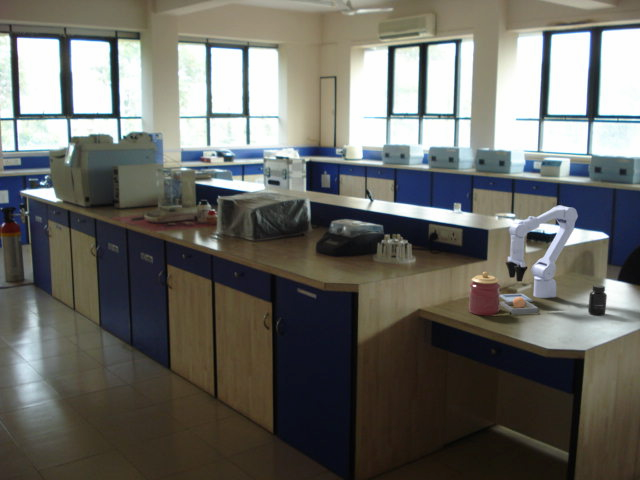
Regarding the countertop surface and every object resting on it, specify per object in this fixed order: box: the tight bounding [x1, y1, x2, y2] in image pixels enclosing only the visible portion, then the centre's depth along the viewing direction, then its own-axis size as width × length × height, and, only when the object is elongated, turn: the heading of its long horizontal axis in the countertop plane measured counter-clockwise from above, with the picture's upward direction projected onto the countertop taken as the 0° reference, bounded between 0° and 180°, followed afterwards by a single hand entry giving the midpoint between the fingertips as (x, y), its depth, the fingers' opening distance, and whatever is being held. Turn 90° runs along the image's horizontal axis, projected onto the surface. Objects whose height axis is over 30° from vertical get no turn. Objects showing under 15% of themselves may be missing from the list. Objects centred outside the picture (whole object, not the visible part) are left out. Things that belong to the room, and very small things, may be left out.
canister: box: [468, 271, 501, 316], centre depth 289 cm, size 13×13×18 cm
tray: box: [499, 301, 540, 315], centre depth 293 cm, size 12×12×2 cm
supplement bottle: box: [587, 284, 608, 316], centre depth 286 cm, size 7×7×12 cm
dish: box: [500, 293, 534, 303], centre depth 307 cm, size 11×11×2 cm
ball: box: [512, 297, 525, 308], centre depth 293 cm, size 5×5×5 cm
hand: (515, 279), depth 307 cm, fingers open, 7 cm apart
